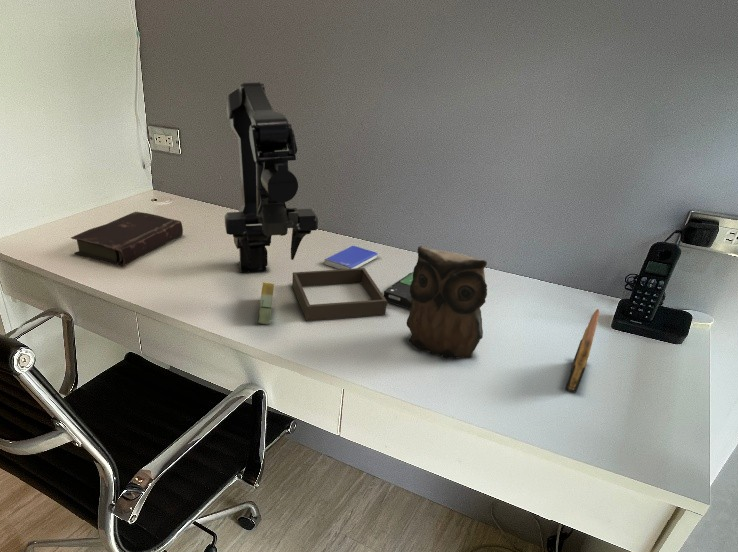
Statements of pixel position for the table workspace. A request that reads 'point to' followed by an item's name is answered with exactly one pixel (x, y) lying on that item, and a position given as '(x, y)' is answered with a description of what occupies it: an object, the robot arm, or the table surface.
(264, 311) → the medication box
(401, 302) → the disk drive
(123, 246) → the diary
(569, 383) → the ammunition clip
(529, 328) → the table surface
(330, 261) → the hard drive
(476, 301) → the owl
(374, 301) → the storage box
